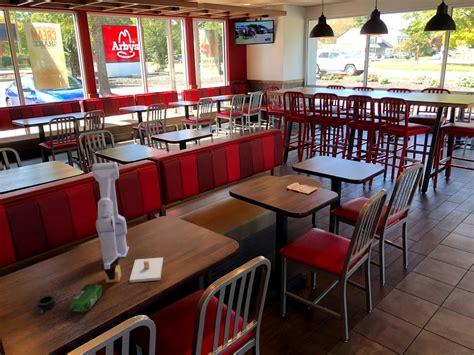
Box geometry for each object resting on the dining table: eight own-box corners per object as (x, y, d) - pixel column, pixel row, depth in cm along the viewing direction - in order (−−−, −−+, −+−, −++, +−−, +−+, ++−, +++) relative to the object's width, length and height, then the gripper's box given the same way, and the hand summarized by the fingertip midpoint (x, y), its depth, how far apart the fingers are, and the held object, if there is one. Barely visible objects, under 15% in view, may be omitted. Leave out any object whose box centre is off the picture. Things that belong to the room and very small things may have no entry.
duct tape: (28, 310, 138) (26, 303, 137) (54, 296, 146) (53, 289, 145) (39, 318, 134) (37, 311, 133) (65, 303, 141) (64, 296, 140)
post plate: (135, 262, 168) (134, 253, 167) (163, 259, 169) (162, 251, 168) (129, 282, 153) (128, 273, 151) (160, 279, 154) (159, 270, 153)
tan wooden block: (108, 275, 158) (107, 266, 157) (121, 274, 158) (119, 265, 157) (106, 282, 153) (104, 272, 152) (119, 281, 154) (117, 271, 152)
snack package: (66, 317, 134) (64, 304, 132) (89, 291, 148) (87, 279, 147) (85, 319, 132) (83, 306, 131) (106, 292, 147) (104, 280, 146)
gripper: (115, 253, 145) (120, 284, 149) (122, 236, 159) (126, 265, 163) (96, 255, 144) (101, 286, 148) (105, 237, 158) (109, 266, 162)
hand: (113, 275), depth 155 cm, fingers closed on tan wooden block, 5 cm apart
